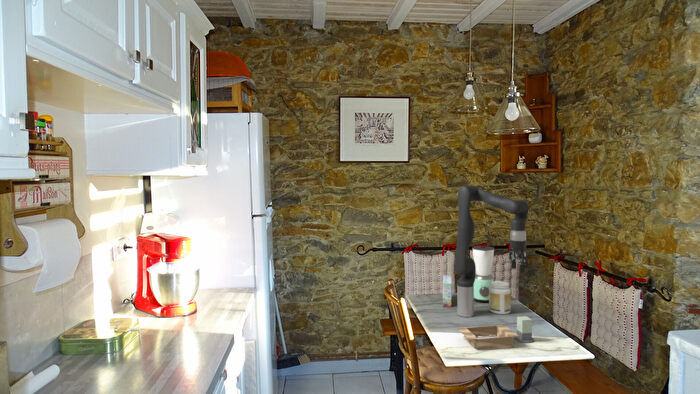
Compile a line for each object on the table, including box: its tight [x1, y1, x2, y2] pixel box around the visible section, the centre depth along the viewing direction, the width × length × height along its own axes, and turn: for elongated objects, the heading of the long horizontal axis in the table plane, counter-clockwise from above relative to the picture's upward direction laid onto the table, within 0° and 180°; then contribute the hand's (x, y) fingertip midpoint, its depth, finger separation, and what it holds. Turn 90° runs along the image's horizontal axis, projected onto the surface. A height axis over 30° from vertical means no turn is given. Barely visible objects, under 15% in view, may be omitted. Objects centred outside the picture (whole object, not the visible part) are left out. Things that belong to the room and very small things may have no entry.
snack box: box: [442, 275, 453, 308], centre depth 276 cm, size 21×6×15 cm, turn 168°
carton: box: [457, 324, 520, 351], centre depth 212 cm, size 16×25×5 cm, turn 97°
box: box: [516, 316, 533, 340], centre depth 214 cm, size 5×5×10 cm
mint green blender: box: [472, 245, 495, 303], centre depth 279 cm, size 19×13×35 cm
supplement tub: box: [488, 280, 512, 315], centre depth 257 cm, size 12×12×17 cm
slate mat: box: [513, 337, 535, 344], centre depth 214 cm, size 9×9×1 cm
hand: (518, 270), depth 223 cm, fingers open, 8 cm apart
